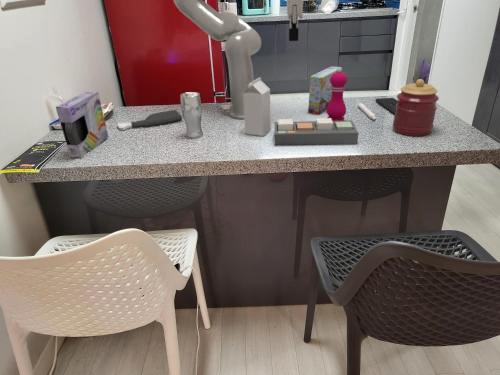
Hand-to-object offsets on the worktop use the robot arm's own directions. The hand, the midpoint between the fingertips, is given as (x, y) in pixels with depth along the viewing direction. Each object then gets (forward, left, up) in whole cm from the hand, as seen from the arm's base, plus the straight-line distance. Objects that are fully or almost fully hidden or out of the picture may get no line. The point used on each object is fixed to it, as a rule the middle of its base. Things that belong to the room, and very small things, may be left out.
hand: (293, 40), depth 132 cm
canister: (+41, -14, -29) cm, 52 cm away
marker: (+30, +5, -30) cm, 42 cm away
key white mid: (+10, -20, -27) cm, 35 cm away
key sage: (+16, -20, -28) cm, 38 cm away
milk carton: (-13, -13, -29) cm, 35 cm away
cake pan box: (-71, -25, -29) cm, 81 cm away
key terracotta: (+3, -20, -28) cm, 35 cm away
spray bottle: (-57, 0, -30) cm, 64 cm away
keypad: (+6, -20, -29) cm, 36 cm away
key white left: (-3, -20, -27) cm, 34 cm away
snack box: (+14, +15, -29) cm, 36 cm away
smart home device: (+42, +12, -30) cm, 53 cm away
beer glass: (-36, -15, -29) cm, 49 cm away
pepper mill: (+16, -4, -29) cm, 34 cm away
